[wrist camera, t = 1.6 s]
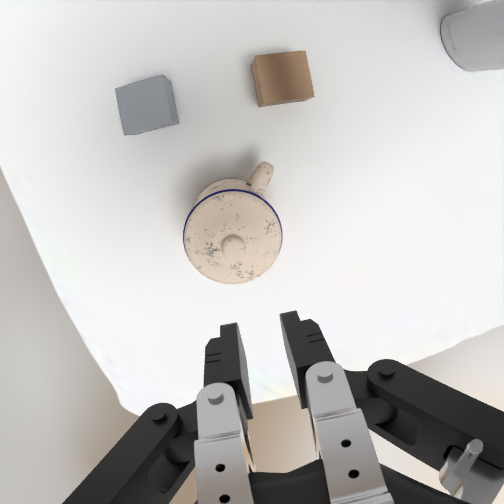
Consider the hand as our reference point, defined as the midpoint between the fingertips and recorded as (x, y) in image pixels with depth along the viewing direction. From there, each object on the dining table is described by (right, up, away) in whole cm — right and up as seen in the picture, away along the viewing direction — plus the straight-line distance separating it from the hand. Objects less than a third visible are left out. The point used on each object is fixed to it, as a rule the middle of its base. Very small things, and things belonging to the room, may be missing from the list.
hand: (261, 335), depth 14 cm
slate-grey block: (-11, +20, +18) cm, 29 cm away
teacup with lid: (-2, +9, +23) cm, 25 cm away
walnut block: (+2, +22, +19) cm, 29 cm away
